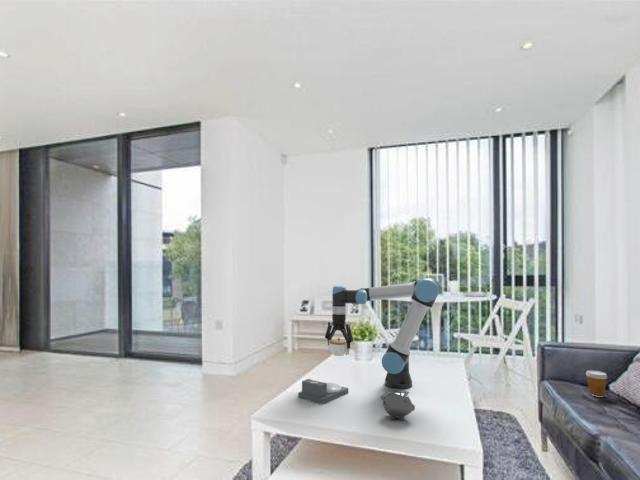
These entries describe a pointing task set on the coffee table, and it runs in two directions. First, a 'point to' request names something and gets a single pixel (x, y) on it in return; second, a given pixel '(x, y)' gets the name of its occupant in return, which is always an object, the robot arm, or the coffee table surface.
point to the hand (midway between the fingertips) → (338, 352)
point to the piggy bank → (397, 404)
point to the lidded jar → (337, 346)
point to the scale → (321, 391)
